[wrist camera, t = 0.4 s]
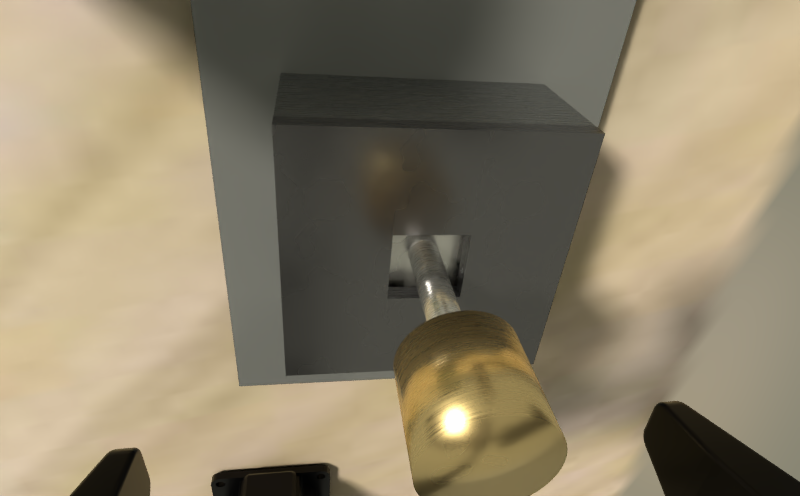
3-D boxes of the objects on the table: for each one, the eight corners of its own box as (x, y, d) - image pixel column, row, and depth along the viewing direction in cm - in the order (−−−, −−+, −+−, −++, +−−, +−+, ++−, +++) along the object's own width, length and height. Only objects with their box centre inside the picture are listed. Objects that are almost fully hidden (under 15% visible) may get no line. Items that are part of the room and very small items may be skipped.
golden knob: (464, 284, 19) (552, 509, 12) (364, 287, 18) (395, 524, 11) (481, 195, 17) (598, 402, 10) (369, 194, 16) (411, 414, 9)
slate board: (517, 357, 27) (524, 371, 27) (241, 370, 25) (239, 386, 24) (648, -98, 16) (666, -97, 16) (179, -148, 14) (171, -150, 13)
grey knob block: (497, 287, 23) (533, 363, 19) (290, 292, 22) (285, 375, 18) (544, 84, 18) (604, 133, 14) (280, 72, 17) (271, 124, 13)
